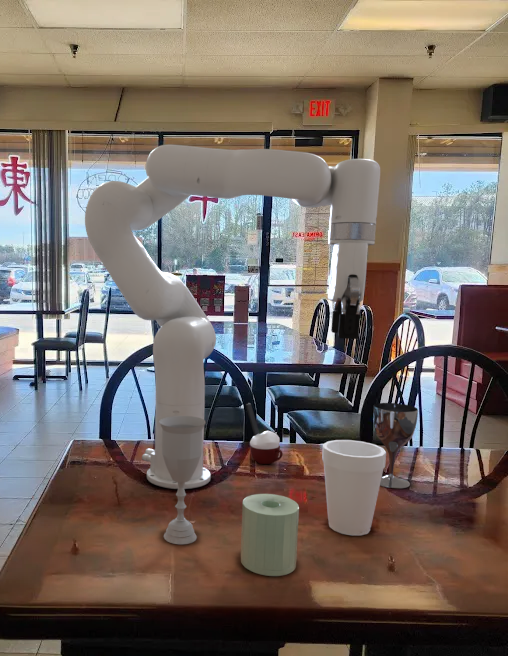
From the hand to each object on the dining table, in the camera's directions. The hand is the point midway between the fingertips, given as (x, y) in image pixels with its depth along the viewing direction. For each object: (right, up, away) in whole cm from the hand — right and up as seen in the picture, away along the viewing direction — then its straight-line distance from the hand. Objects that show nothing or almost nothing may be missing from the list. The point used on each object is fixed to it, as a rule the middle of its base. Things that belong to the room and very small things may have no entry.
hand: (344, 335), depth 100 cm
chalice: (-29, -31, -12) cm, 44 cm away
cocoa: (-10, -27, +24) cm, 38 cm away
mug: (-17, -32, -18) cm, 41 cm away
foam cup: (-2, -31, -8) cm, 32 cm away
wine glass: (+13, -29, +13) cm, 34 cm away
